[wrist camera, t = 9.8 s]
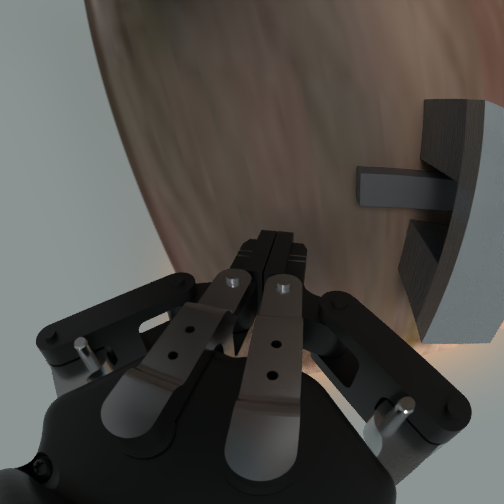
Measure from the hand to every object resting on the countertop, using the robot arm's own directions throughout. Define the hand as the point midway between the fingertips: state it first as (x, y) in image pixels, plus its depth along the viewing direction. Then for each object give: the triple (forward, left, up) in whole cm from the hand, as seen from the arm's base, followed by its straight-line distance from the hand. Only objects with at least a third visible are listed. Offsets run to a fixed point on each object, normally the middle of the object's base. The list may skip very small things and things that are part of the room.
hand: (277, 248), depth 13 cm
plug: (-1, +16, -15) cm, 22 cm away
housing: (0, +16, -15) cm, 22 cm away
